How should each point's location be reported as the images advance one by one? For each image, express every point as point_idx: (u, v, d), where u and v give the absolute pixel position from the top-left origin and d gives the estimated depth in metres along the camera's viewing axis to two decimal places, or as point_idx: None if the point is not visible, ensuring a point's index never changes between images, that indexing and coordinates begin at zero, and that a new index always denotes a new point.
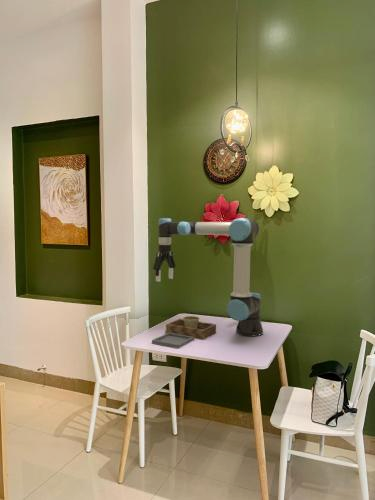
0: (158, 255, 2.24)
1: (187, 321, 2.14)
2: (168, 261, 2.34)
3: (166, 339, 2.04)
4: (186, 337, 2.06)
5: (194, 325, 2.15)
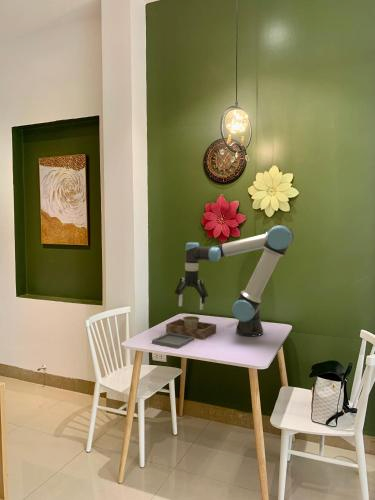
0: None
1: (187, 321, 2.14)
2: None
3: (166, 339, 2.04)
4: (186, 337, 2.06)
5: (194, 325, 2.15)
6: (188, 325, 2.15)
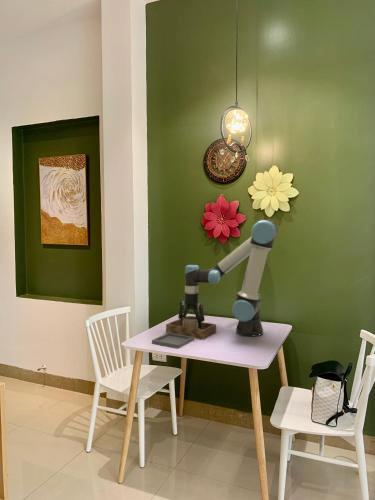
0: None
1: (187, 321, 2.14)
2: None
3: (166, 339, 2.04)
4: (186, 337, 2.06)
5: (194, 325, 2.15)
6: (188, 325, 2.15)
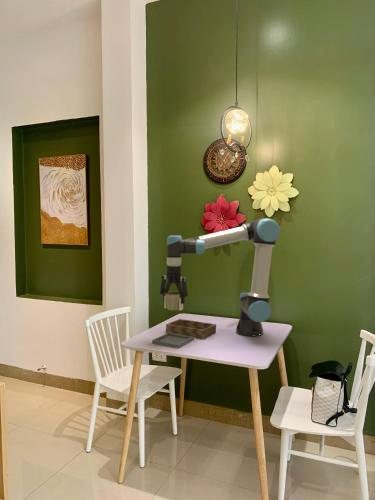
0: None
1: (169, 296, 1.97)
2: None
3: (166, 339, 2.04)
4: (186, 337, 2.06)
5: (176, 300, 1.98)
6: (170, 300, 1.98)
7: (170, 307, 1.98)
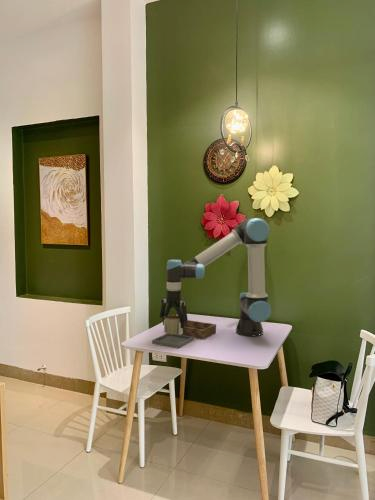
0: None
1: (168, 320, 1.98)
2: None
3: (166, 339, 2.04)
4: (186, 337, 2.06)
5: (176, 325, 1.98)
6: (170, 325, 1.98)
7: (170, 331, 1.99)
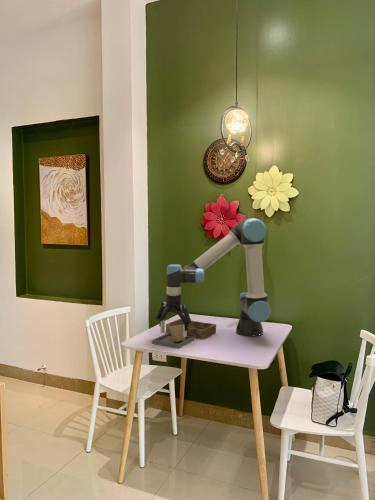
0: None
1: (172, 327, 1.97)
2: None
3: (166, 339, 2.04)
4: (186, 337, 2.06)
5: (180, 330, 1.97)
6: (174, 332, 1.97)
7: (176, 339, 1.98)
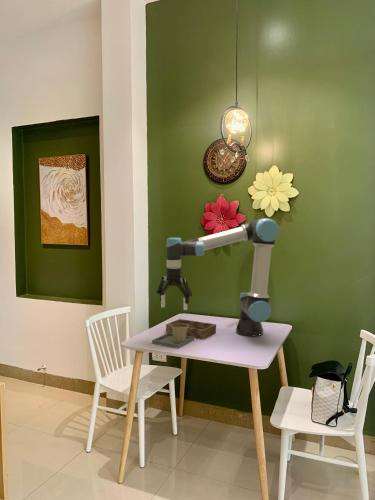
0: None
1: (175, 328, 1.96)
2: None
3: (166, 339, 2.04)
4: (186, 337, 2.06)
5: (182, 333, 1.97)
6: (176, 333, 1.97)
7: (176, 340, 1.98)
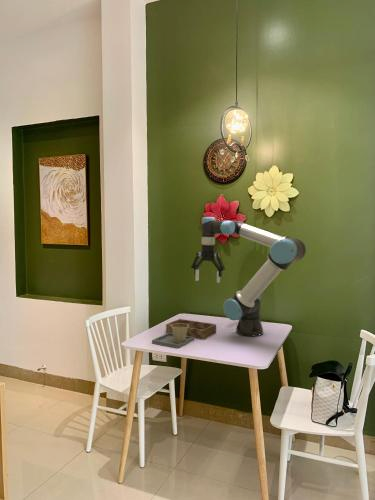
0: None
1: (175, 329, 1.96)
2: None
3: (166, 339, 2.04)
4: (186, 337, 2.06)
5: (182, 333, 1.97)
6: (176, 333, 1.97)
7: (176, 340, 1.98)
